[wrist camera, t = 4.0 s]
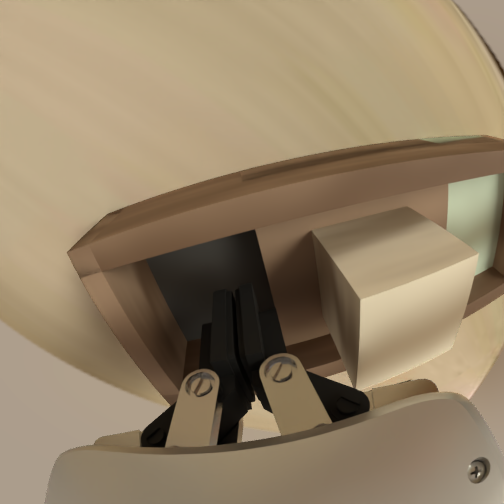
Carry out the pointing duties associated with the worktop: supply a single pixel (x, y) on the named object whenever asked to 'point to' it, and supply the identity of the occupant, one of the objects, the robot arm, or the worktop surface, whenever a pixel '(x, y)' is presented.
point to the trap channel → (279, 244)
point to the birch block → (391, 291)
